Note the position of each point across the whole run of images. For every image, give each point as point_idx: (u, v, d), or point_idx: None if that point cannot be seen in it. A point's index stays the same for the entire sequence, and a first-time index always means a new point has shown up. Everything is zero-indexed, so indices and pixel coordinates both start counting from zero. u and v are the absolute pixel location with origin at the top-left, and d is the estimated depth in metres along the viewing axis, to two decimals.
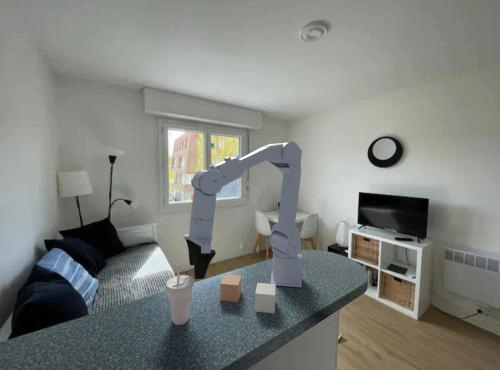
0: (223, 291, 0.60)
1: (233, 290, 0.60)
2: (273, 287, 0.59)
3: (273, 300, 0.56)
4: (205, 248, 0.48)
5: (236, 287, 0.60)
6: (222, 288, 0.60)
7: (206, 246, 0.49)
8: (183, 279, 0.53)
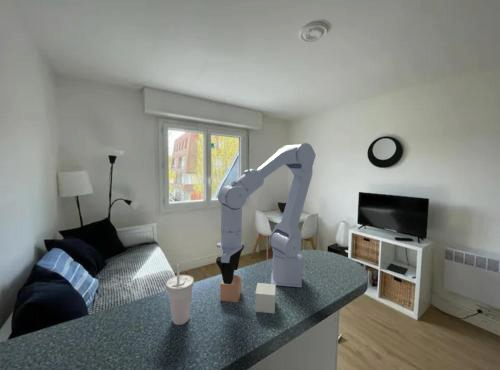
0: (223, 291, 0.60)
1: (233, 290, 0.60)
2: (273, 287, 0.59)
3: (274, 301, 0.56)
4: (223, 258, 0.54)
5: (236, 287, 0.60)
6: (222, 288, 0.60)
7: (224, 256, 0.54)
8: (183, 279, 0.53)
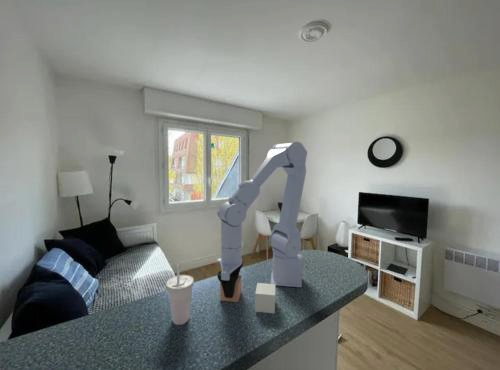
0: (223, 291, 0.60)
1: None
2: (273, 287, 0.59)
3: (273, 300, 0.56)
4: (223, 276, 0.55)
5: (236, 287, 0.60)
6: (222, 288, 0.60)
7: (224, 274, 0.55)
8: (183, 279, 0.53)
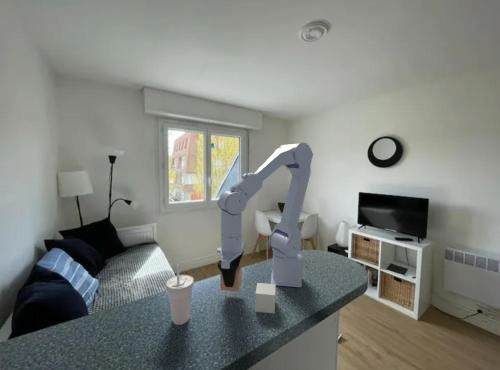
0: (223, 280, 0.60)
1: None
2: (273, 287, 0.59)
3: (274, 300, 0.56)
4: (224, 264, 0.54)
5: (236, 276, 0.59)
6: (222, 277, 0.60)
7: (224, 262, 0.54)
8: (183, 279, 0.53)
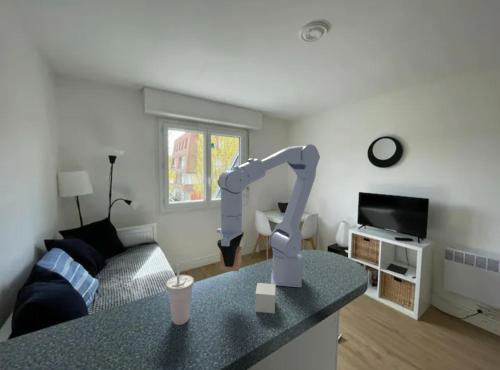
0: (223, 260, 0.59)
1: None
2: (273, 287, 0.59)
3: (274, 300, 0.56)
4: (223, 241, 0.54)
5: (236, 255, 0.59)
6: (222, 257, 0.59)
7: (224, 240, 0.54)
8: (183, 279, 0.53)
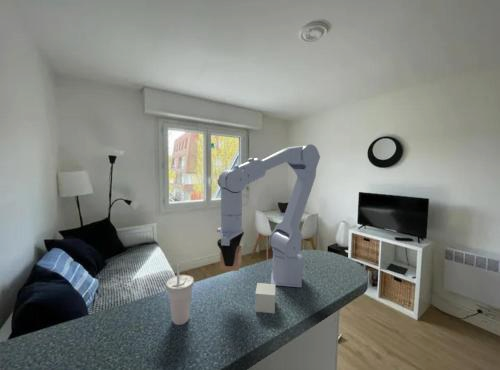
0: (223, 260, 0.59)
1: None
2: (273, 287, 0.59)
3: (274, 300, 0.56)
4: (223, 241, 0.54)
5: (236, 255, 0.59)
6: (222, 256, 0.59)
7: (224, 239, 0.54)
8: (183, 279, 0.53)
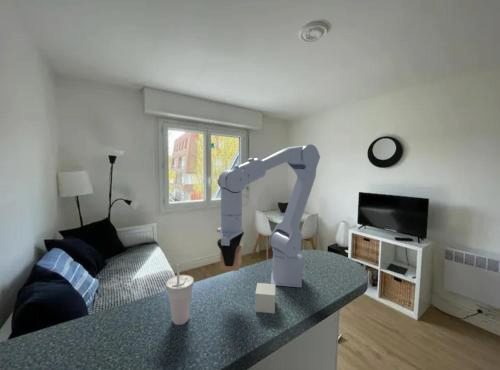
0: (223, 260, 0.59)
1: None
2: (273, 287, 0.59)
3: (274, 300, 0.56)
4: (223, 241, 0.54)
5: (236, 255, 0.59)
6: (222, 256, 0.59)
7: (224, 239, 0.54)
8: (183, 279, 0.53)
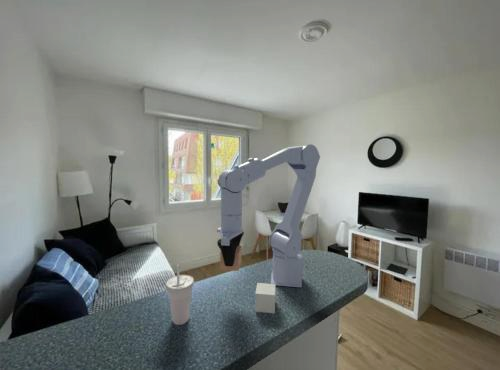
0: (223, 260, 0.59)
1: None
2: (273, 287, 0.59)
3: (274, 300, 0.56)
4: (223, 241, 0.54)
5: (236, 255, 0.59)
6: (222, 256, 0.59)
7: (224, 239, 0.54)
8: (183, 279, 0.53)
